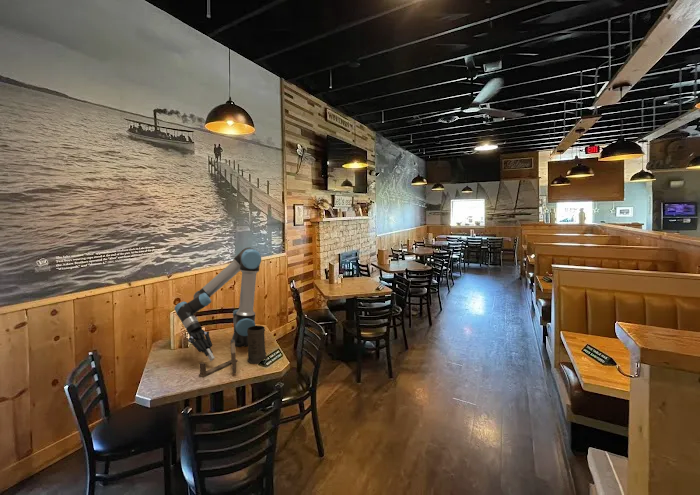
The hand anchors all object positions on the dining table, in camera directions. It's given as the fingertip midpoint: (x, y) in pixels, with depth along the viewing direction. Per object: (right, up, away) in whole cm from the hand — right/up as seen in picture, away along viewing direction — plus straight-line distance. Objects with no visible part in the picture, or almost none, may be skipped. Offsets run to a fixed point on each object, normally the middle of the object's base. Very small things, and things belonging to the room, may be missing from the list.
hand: (212, 359), depth 190 cm
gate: (+13, -4, -2) cm, 13 cm away
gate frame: (+4, -5, -1) cm, 6 cm away
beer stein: (+22, -4, +12) cm, 25 cm away
